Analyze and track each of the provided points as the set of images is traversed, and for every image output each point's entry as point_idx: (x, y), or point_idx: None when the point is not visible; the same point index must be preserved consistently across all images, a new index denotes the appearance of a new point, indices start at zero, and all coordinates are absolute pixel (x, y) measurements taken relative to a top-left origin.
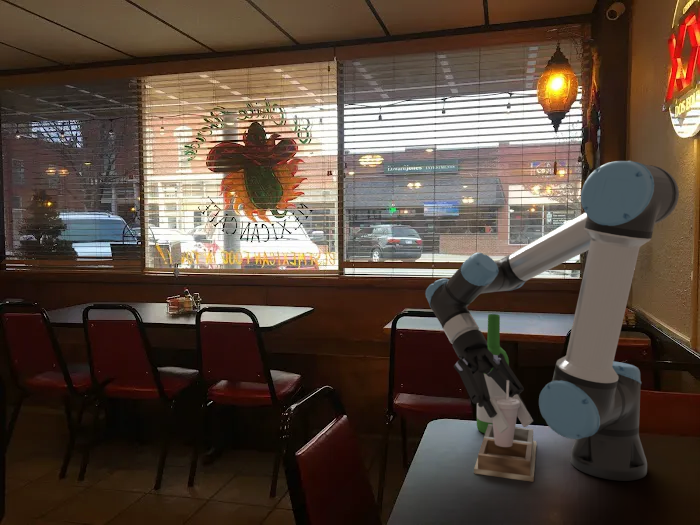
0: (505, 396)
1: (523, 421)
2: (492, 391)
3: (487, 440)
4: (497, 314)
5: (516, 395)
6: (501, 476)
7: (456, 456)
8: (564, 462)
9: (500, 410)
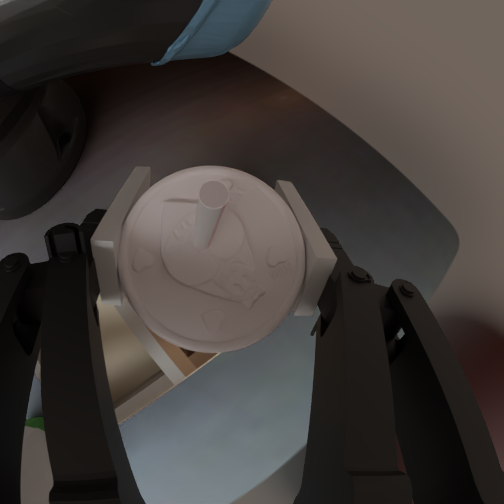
0: (141, 310)
1: None
2: (26, 495)
3: (192, 354)
4: None
5: (108, 236)
6: None
7: (254, 393)
8: (57, 209)
9: (296, 216)
